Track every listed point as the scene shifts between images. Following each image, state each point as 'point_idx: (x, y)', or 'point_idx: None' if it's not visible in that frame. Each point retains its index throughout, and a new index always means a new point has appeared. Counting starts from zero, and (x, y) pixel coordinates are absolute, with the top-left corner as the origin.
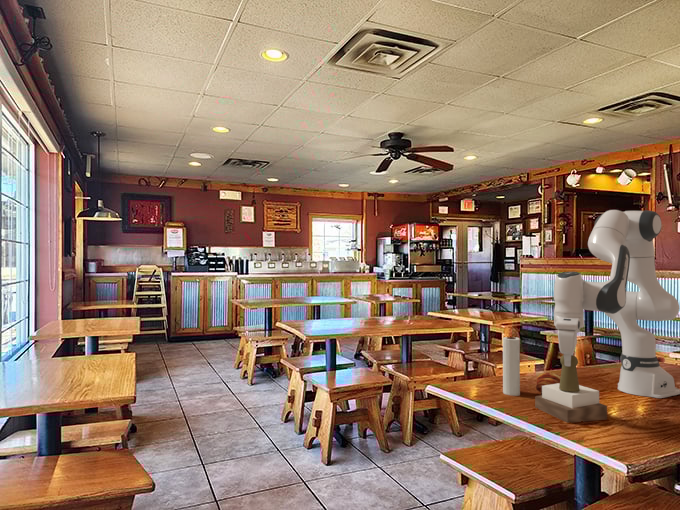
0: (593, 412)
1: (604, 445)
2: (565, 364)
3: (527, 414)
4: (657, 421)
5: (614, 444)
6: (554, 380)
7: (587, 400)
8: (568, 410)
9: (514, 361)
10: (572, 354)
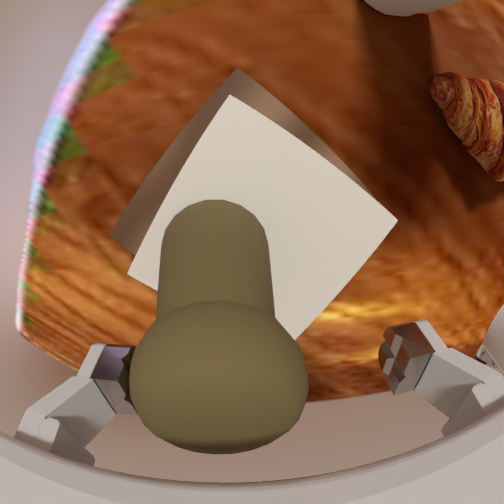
0: None
1: (58, 309)
2: (92, 354)
3: (149, 72)
4: None
5: (78, 325)
6: (494, 146)
7: None
8: (112, 238)
9: None
10: (420, 390)
